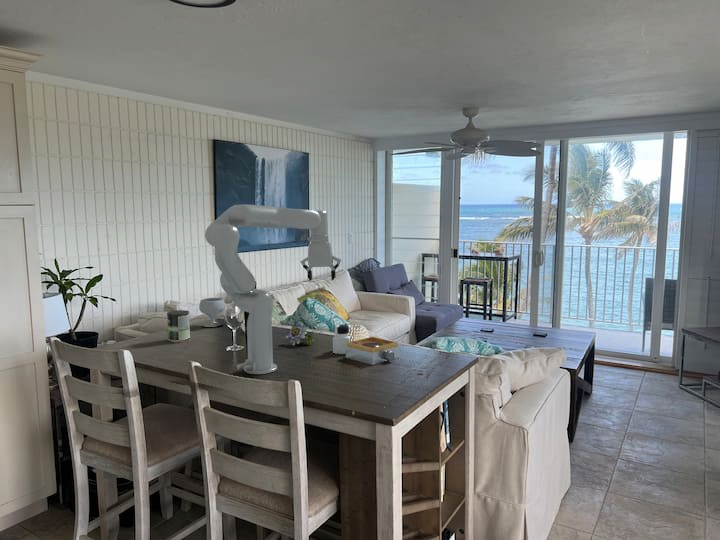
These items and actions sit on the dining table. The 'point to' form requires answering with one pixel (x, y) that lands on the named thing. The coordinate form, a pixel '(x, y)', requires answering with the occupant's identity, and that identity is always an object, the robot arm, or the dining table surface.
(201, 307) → the chalice
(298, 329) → the passion flower
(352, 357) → the box
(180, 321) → the coffee can
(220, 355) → the dining table surface
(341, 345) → the medicine bottle
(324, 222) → the robot arm
